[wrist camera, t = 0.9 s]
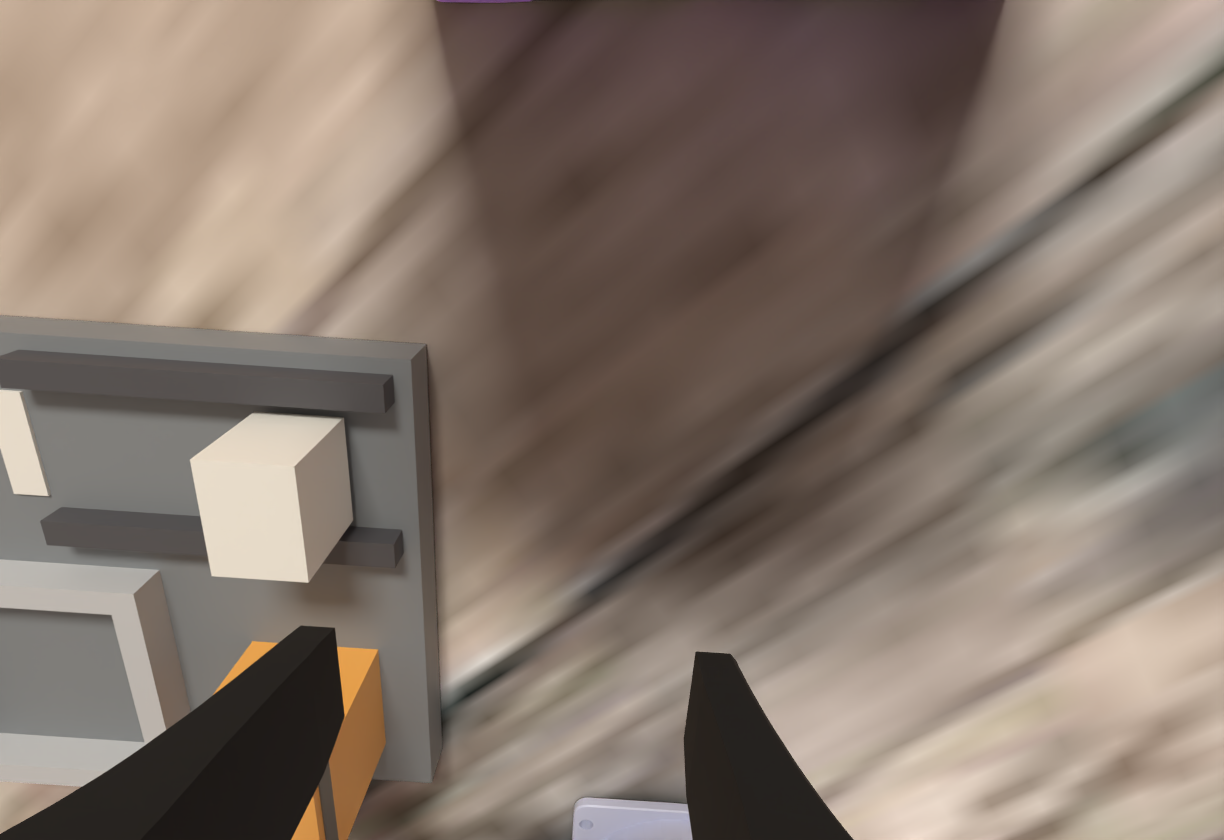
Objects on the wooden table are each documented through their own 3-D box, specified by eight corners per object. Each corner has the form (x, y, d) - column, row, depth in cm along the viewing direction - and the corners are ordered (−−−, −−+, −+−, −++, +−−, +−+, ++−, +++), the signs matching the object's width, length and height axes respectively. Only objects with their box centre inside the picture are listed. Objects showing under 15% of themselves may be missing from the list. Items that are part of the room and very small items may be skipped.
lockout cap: (387, 744, 24) (328, 892, 19) (267, 736, 24) (179, 882, 19) (379, 648, 22) (313, 784, 17) (250, 639, 22) (150, 774, 17)
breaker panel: (442, 748, 26) (422, 814, 23) (-45, 716, 26) (-118, 778, 23) (426, 344, 20) (396, 374, 17) (-208, 301, 20) (-330, 325, 17)
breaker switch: (353, 520, 20) (308, 582, 17) (269, 514, 20) (211, 576, 17) (343, 417, 19) (294, 466, 16) (254, 411, 19) (189, 459, 16)
